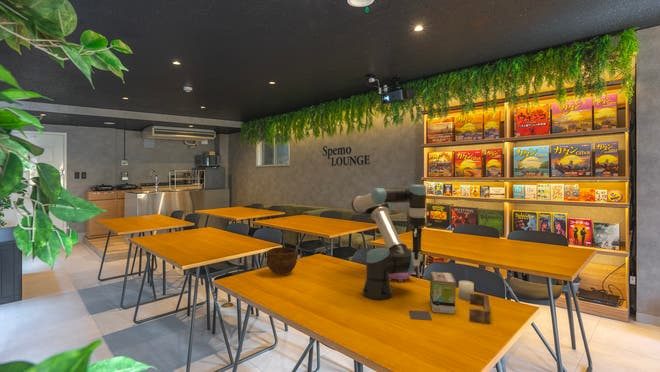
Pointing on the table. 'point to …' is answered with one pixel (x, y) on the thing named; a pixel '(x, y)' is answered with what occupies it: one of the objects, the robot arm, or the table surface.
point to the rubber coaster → (420, 315)
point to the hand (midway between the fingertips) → (416, 265)
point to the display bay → (478, 314)
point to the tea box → (442, 292)
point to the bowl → (281, 260)
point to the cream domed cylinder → (465, 289)
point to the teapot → (400, 276)
